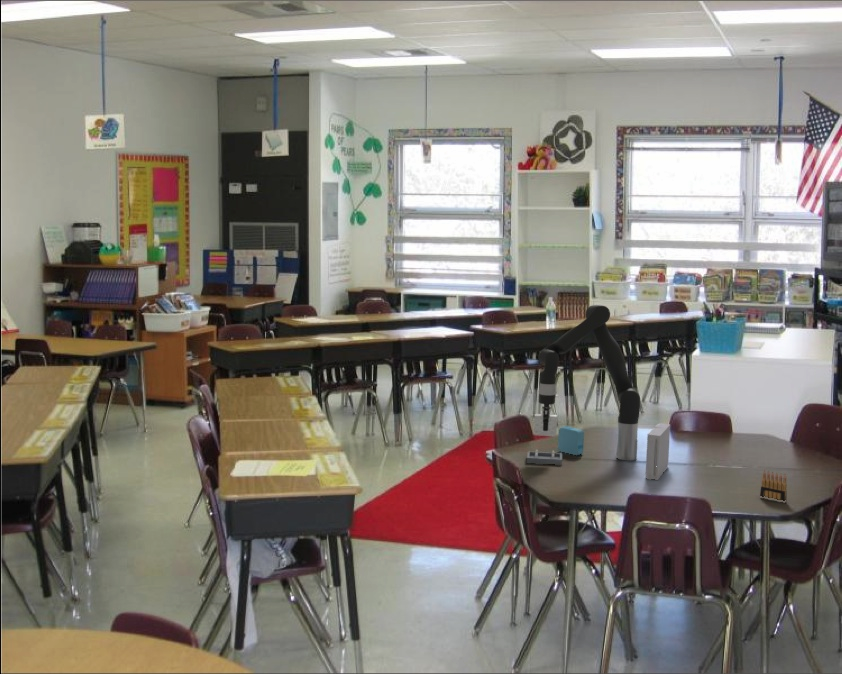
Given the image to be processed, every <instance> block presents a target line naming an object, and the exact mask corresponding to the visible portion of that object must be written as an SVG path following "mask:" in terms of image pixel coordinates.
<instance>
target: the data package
mask: <svg viewBox="0 0 842 674" xmlns="http://www.w3.org/2000/svg"><path fill="white" fill-rule="evenodd" d="M584 437H585V432H584V430H583V429H580V428H575V427H570V426H561V427H559V429H558V443H557V450H558V452H559V451H561V452H560V453H562V452H565V453H564V454H566V453H569V454H568V455H570V454H573V455H572V456H574V455H576V456H580V454H581V455H583V454H584V442H585V441H584V440H585V438H584Z"/></svg>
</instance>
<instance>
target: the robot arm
mask: <svg viewBox="0 0 842 674" xmlns="http://www.w3.org/2000/svg"><path fill="white" fill-rule="evenodd" d="M610 318H611V312H610V309H609V308H608V307H607V306H606V305H604V304H593V305H590V306H588V307H587V309H586V310H585V319H584V320H582V322H580V323H579V324H577V325H576V326H574V327H573V328H571V329H569V330H568V331H566V332H565V333H564V334H563V335H561V336H560V337H559V338H558V339H557V340H556V341H554V342H552V343H550V344H548V345H547V346H546V347H544V348H542V349H541V350H540V352H539V354H538V357H537V358H538V361H539V363H541V364H543V365H544V367H543V368H544V369H543V370H541V372H540V375H539V376H540V377H539V385H538V386H539V388H538V403H539V404H540V405H543V406H542V407H541V411H542V413H541V414H542V417H543V431H548V422H549V418H550V415H551V411H552V407H551V406H550V405H554V404H555V403H556V377H557V376H556V374H557V371H558V367H559V364H560V357H559V355H563V354H566V353H568V352H569V351H570V350H571V349H572V348H574V346H576V345H577V344H578V343H579V342H580V341H582V339H584V338H585V337H586V336H587V335H589V334H590V333H592V334H593V336H594V338H595V339H596V340H595V342H596V343H597V346H598V348H599V352H600V354H601V357H602V360H603V361H604V365H605V367H606V370H607V371H608V374H609V375H610V377H611V379H612V381H613V384H614V388H615V393H616V396H617V400H618V402H619V413H618V416H617V433H616V437H617V438H616V456H615V457H616V459H617V458H618V460H622V461H637V459H638V458H637V456H638V430H639V429H638V428H639V418H640V408H641V397H640V394H639V393H638V392H637V390H635V387H634V386H633V385H632V382H631V380H630V377H629V375H628V369H627V364H626V359H625V357H624V356H625V355H624V354H623V352H622V349H621V347H620V345H619V343H618V341H616V339H615V338H614V337H613V335H612V334H611V332H610V331H609V329H608V326H607V323H608V321H609V320H610ZM544 418H548V420H544Z"/></svg>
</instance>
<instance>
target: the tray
mask: <svg viewBox="0 0 842 674" xmlns="http://www.w3.org/2000/svg"><path fill="white" fill-rule="evenodd" d="M527 463H536V464H535V465H543V464H555V465H554V466H563V453H562V452H555V450H551V452H546V451H545V452H543V451H539V450H538V449H535V451H527V455H526V464H527Z"/></svg>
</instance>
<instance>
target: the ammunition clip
mask: <svg viewBox="0 0 842 674" xmlns="http://www.w3.org/2000/svg"><path fill="white" fill-rule="evenodd" d="M778 475H779V476H778ZM761 478H762V479H761V486H760V493H759V497H760V496H762V497H764V496H765V497H768V498H774V499H777V500H783V501H785V500H786V501H787V494H788V493H787V475H786V473H785V474H784V476H783V475H782V473H780V474H778V472H775V474H774V471H772V472H771V473H770V471H769V470H768V471H767V473H766V470H765V469H764V471H762V477H761Z"/></svg>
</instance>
